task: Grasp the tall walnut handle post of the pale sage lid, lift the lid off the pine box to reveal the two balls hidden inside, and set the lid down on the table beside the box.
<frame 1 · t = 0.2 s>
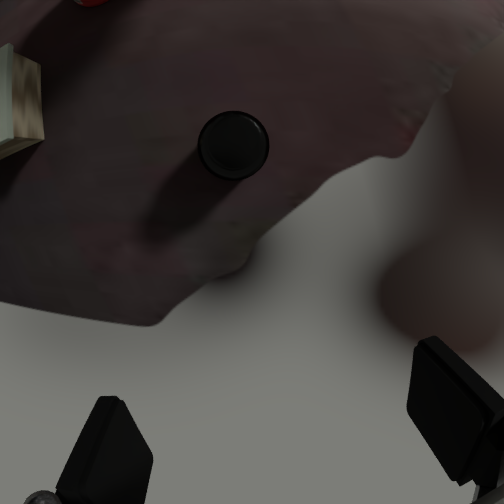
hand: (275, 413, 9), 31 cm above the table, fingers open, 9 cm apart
pine box: (11, 115, 32), on the table
supplement bottle: (232, 151, 37), on the table
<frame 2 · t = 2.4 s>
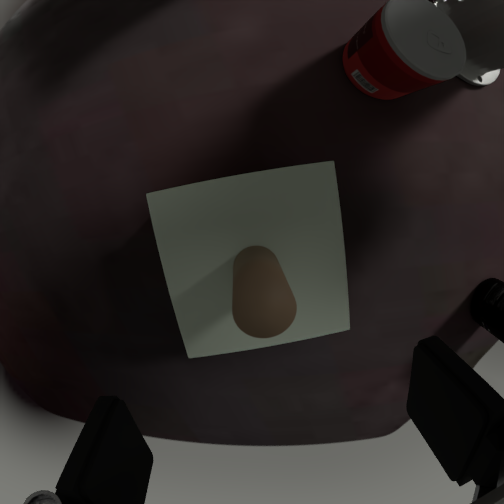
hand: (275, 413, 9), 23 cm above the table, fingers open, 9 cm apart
canned food: (374, 68, 27), on the table
lid: (255, 262, 23), point 8 cm above the table, touching pine box
supplement bottle: (484, 298, 35), on the table
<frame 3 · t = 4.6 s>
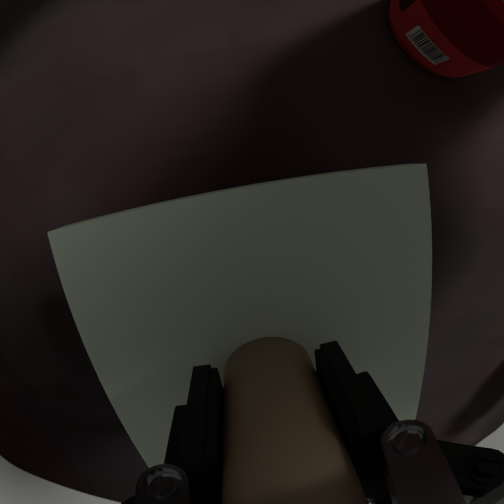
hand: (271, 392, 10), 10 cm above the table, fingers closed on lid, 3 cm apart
canned food: (429, 34, 16), on the table
lid: (265, 357, 12), point 8 cm above the table, touching gripper, pine box
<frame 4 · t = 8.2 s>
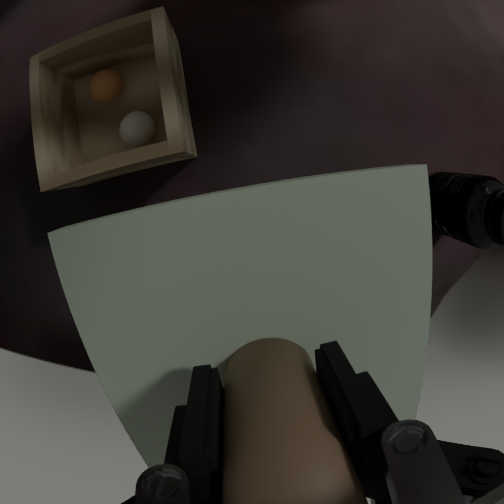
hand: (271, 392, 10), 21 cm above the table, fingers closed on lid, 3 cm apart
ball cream: (142, 130, 26), point 1 cm above the table, touching pine box
pine box: (127, 112, 26), on the table
lid: (265, 357, 12), point 19 cm above the table, touching gripper
ball terracotta: (111, 89, 25), point 1 cm above the table, touching pine box
supplement bottle: (439, 201, 31), on the table
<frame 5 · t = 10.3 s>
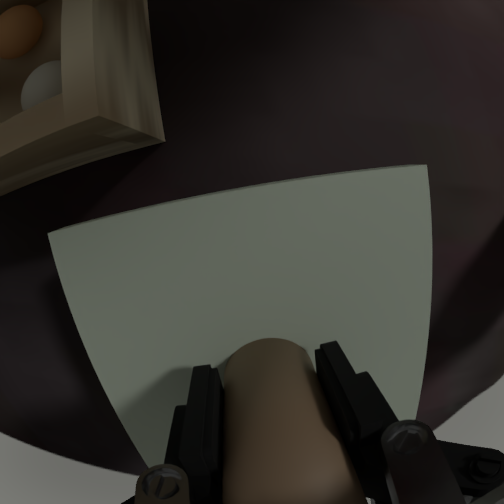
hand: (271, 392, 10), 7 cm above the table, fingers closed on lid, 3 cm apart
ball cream: (68, 99, 12), point 1 cm above the table, touching pine box
pine box: (52, 72, 13), on the table
lid: (265, 358, 12), point 5 cm above the table, touching gripper
ball terracotta: (30, 39, 11), point 1 cm above the table, touching pine box
when the fingers open (3 cm above the table, at t = 11.9 s): lid drops 2 cm, on the table.
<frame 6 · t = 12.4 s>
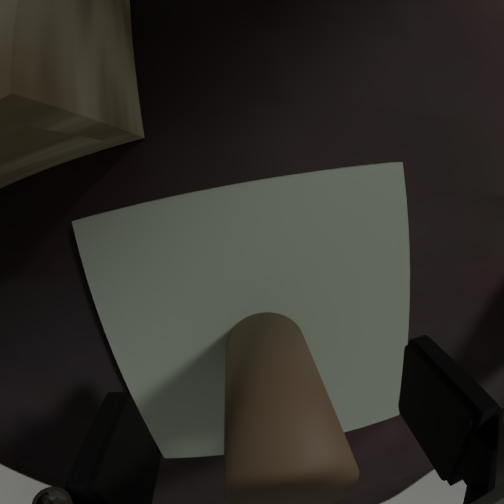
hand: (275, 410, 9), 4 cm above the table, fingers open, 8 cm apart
pine box: (16, 60, 9), on the table
lid: (262, 333, 14), on the table
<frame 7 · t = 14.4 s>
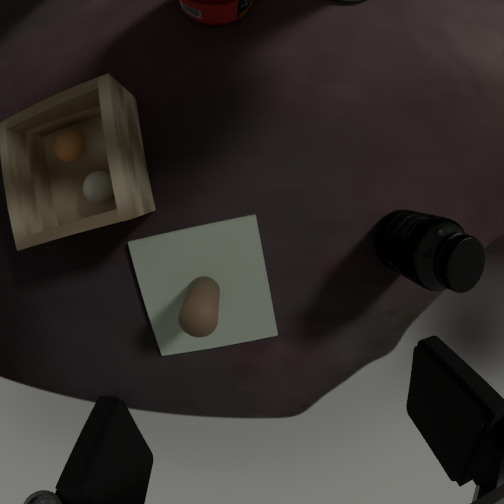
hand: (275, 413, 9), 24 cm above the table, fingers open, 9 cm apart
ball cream: (104, 187, 28), point 1 cm above the table, touching pine box
canned food: (216, 2, 26), on the table
pine box: (91, 167, 29), on the table
lid: (204, 287, 33), on the table
ball terracotta: (76, 147, 27), point 1 cm above the table, touching pine box
supplement bottle: (398, 239, 33), on the table
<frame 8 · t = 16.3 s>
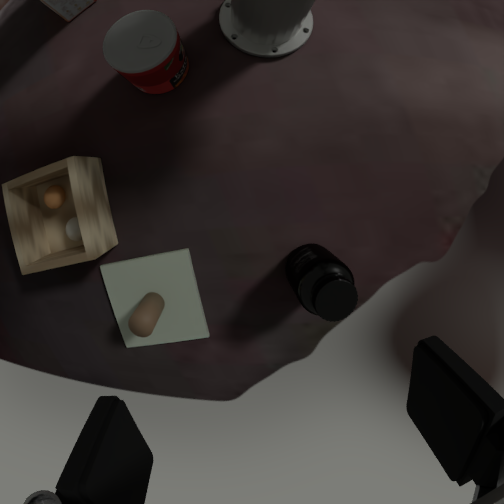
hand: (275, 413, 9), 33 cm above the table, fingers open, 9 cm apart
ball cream: (81, 226, 39), point 1 cm above the table, touching pine box
canned food: (160, 70, 35), on the table
pine box: (72, 210, 39), on the table
lid: (155, 299, 43), on the table
ball terracotta: (60, 195, 37), point 1 cm above the table, touching pine box
supplement bottle: (309, 266, 43), on the table
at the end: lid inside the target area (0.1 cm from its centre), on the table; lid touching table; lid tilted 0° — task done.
